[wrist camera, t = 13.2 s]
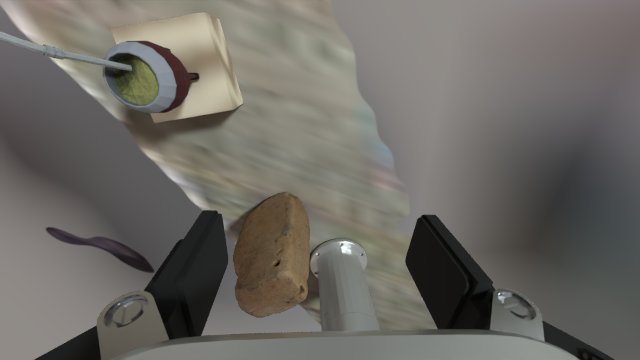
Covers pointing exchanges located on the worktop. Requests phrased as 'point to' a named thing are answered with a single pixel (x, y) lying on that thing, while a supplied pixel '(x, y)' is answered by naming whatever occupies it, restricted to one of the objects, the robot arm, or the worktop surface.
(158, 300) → the robot arm
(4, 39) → the mate gourd
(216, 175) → the worktop surface
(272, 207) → the block
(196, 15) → the maple block
